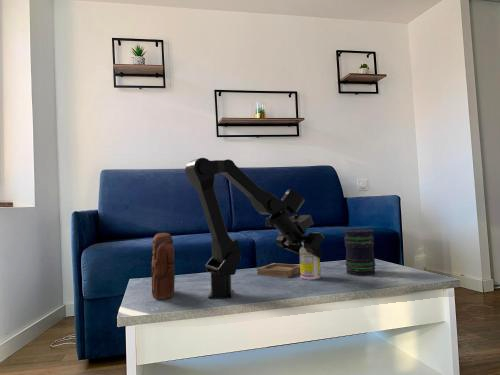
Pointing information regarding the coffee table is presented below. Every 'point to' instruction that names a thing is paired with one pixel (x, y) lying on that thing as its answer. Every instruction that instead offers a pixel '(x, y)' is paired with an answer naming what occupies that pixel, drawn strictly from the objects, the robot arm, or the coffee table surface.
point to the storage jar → (360, 252)
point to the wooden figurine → (163, 266)
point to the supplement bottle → (309, 265)
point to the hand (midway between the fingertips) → (312, 255)
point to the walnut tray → (279, 270)
